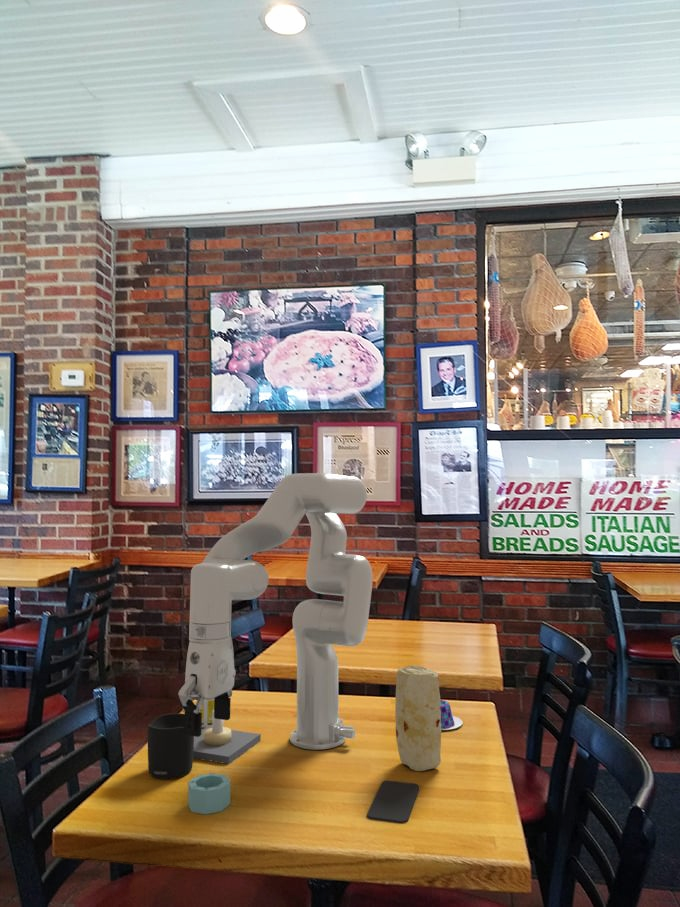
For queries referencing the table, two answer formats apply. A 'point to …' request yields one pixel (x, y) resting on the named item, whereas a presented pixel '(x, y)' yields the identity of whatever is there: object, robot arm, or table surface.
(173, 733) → the pen holder
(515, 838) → the table surface
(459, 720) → the pudding
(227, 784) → the ring
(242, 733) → the post stand
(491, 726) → the table surface
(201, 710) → the supplement bottle
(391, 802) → the phone
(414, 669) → the food model
